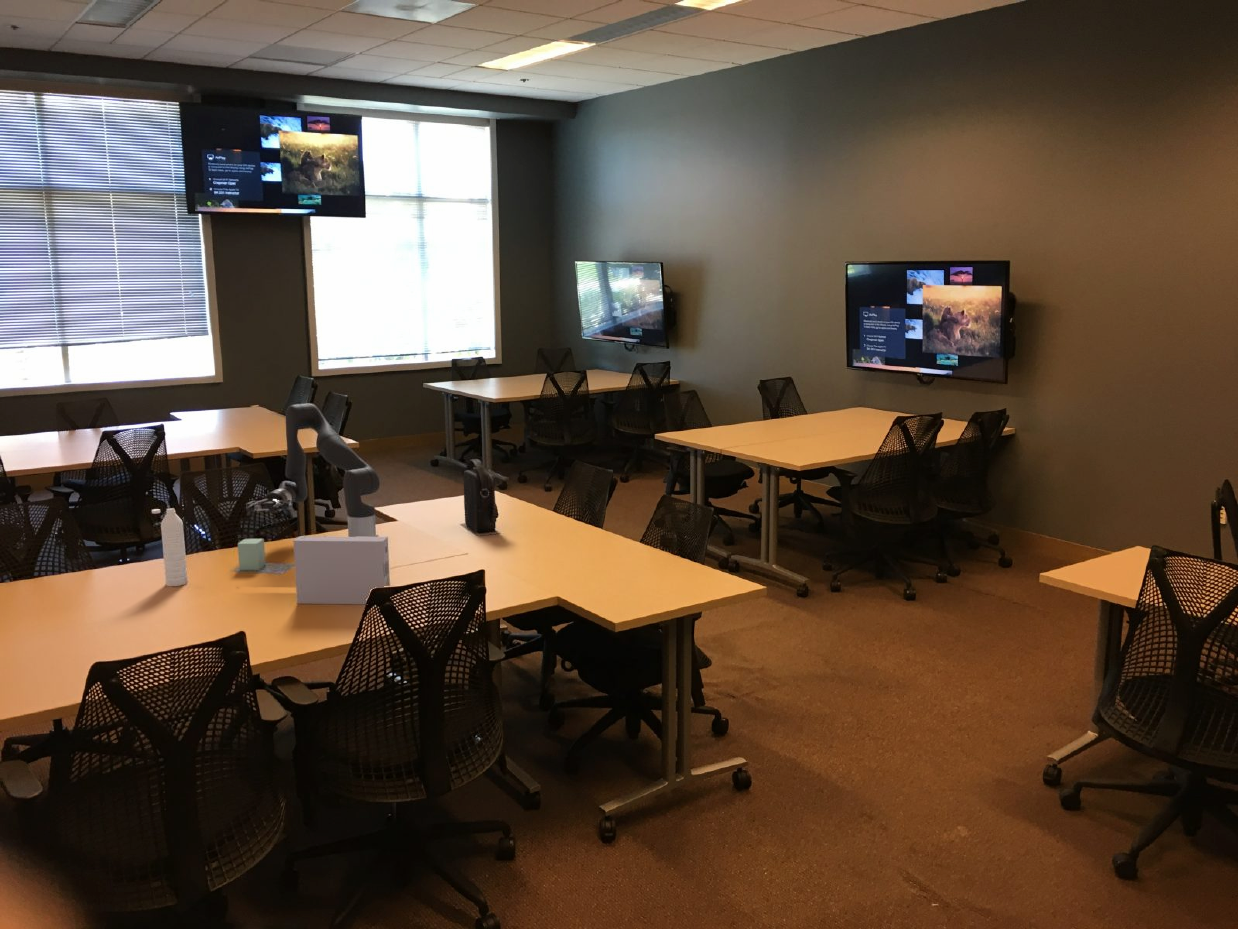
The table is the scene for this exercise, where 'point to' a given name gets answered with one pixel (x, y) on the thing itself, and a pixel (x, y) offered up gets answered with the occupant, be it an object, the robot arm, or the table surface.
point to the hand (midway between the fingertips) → (261, 509)
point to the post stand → (270, 568)
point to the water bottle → (173, 548)
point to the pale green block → (251, 554)
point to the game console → (339, 568)
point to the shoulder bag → (479, 499)
